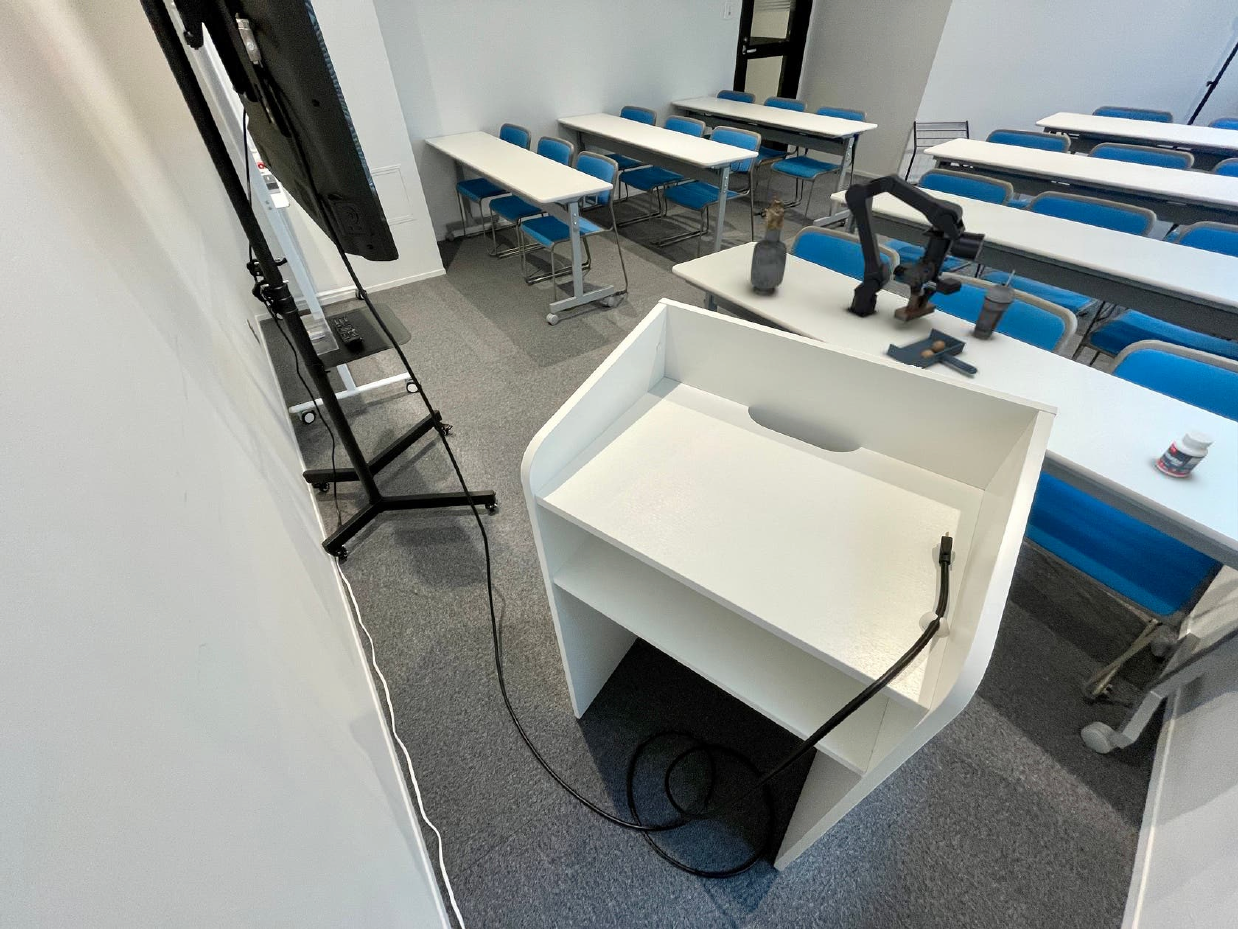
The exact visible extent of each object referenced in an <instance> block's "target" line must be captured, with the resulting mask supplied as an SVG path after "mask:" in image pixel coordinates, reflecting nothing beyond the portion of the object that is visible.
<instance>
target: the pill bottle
mask: <svg viewBox="0 0 1238 929" xmlns="http://www.w3.org/2000/svg"><path fill="white" fill-rule="evenodd" d="M1214 441H1215V440H1214V438H1213V437H1212V436H1211V435H1210V434H1207V433H1205V432H1202V431H1198V430H1189V431H1187V433H1186V434H1185V435H1184V436H1183V437H1182V438H1178V439H1176V440H1174V441H1173V443H1172V444H1170V446H1169V447H1168V448H1167V449H1166V450H1165V452H1164V453H1163V454H1162V455H1161V456H1160V458H1159V459H1158V460H1157V461H1156V463H1155V466H1156V467H1157V469H1158V470H1160V471H1161V472H1163V473H1164V474H1166V475H1168V476H1172V477H1176V478H1183V477H1187V476H1188V475H1190V473H1191V472H1192V471H1193V470H1194V469H1196V467H1197V466H1198V465H1199V464H1200V463H1201V462H1202V461H1203V460H1204V459H1205V457H1206V456H1208V453H1209V449H1208V448H1209V447H1211V445H1212V444H1213V443H1214Z"/></svg>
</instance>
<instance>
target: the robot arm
mask: <svg viewBox="0 0 1238 929" xmlns="http://www.w3.org/2000/svg"><path fill="white" fill-rule="evenodd" d="M884 193H888V194H890V195H891V196H893V197H894V198H896V199H898V200H899V201H901V202H903V203H905V204H906V205H907V206H909V207H911V208H913V209H914V210H915V211H917V212H919V213H921V214H922V215H923V216H924V217H925V219H926V220H927V222H928V223H929V224H930V225H931V226H930V227H929V228H927V229H925V230H924V232H922V234H921V235H922V236H924V237H929V238H928V240H927V244H926V246H925V249H924V252H923V255H920V256H919V258H918V260H917V262H916V263H915V264H914V263H912V262H909V261H907V262H903V263H900V264H897V265H896V266H895V267H894V269H893V272H892V271H891V268H890V265H891V264H890V261H886V262H884V261H883V259H882V257H881V252H880V247H879V242H878V238H877V232H876V227H875V223H874V216H873V212H872V211H873V210H872V209H873V204H874V203H873V202H874V197H875V196H878V195H881V194H884ZM844 200H845V203H846V206H847V208H848V210H849V211H850V213H851V215H852V216H853V217H854V219H855V224H856V228H857V233H858V238H859V243H860V248H861V253H862V257H863V258H862V259H863V262H864V263H863V264H864V269H863V274H862V277H863V278H862V280H863V281H861V282H860V283H859V284H858V285H857V286H856V287H855V288H854V289H853V298H852V301H851V305H850V307H847V308H846V311H848V312H850V313H852V314H854V315H857V317H861V318H864V317H867V316H870V315H872V314H876V313H877V310H876V306H877V303H878V300H877V299H878V297H879V295H878V294H877V293H879V292H881V291H882V290H883V289H884V288H885V287H886V286H887V285H888V283H889V282H890V280H891V276H892V275H893V276H896V277H899V278H902V277H903V283H904V284H907V285H908V286H909V290H910V295H911V294H912V293H915V292H918V291H921V290H924V294H923V297H922V299H921V302H920V305H919V308H921V307H923V306H924V305H925V304H926V302H927V301H928V302H929V301H930V300H931V298H932V297H934V295H935V294H936V293H939V294H941V295H944V296H949V295H953V294H956V293H958V292H959V293H960V291H961V289H962V287H963V284H962V281H961V280H958V279H955V278H954V277H947V278H945V279H943V278H941V276H942V275H943V273H944V272H943V271H942V269H943V266H944V263H945V262H948V259H949V257H948V256H947V255H948V253H950V256H952V258H955V259H960V260H965V261H971V262H976V260H977V258H978V256H979V254H980V253H981V251H982V248H983V243H984V240H985V237H986V234H985V233H979V232H978V233H976V232H971V231H967V230H966V225H965V223H964V220H963V216H964V211H963V210H964V209H963V207H962V205H960V204H958V203H955V202H952V201H950V200H948V199H947V200H946V199H941V198H937V197H934V196H933V195H931V194H929V193H928V192H926V191H924V190H922V189H920V188H919V187H917V186H916V185H914V184H913V183H911V182H909V181H908V180H905V179H904V178H902V177H900V175H898V174H897V173H895V172H894V173H889V174H887V175H885V176H881V177H878V178H874V179H871V180H868V179H864V178H863V179H859V180H858V181H856V182H854V183H853V184H851V185H850V186H849V187H848V188H847V189H846V191H845V192H844ZM952 242H953V243H952ZM951 244H952V245H951ZM939 277H940V278H939ZM927 283H929V284H928V286H924V285H926V284H927Z"/></svg>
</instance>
